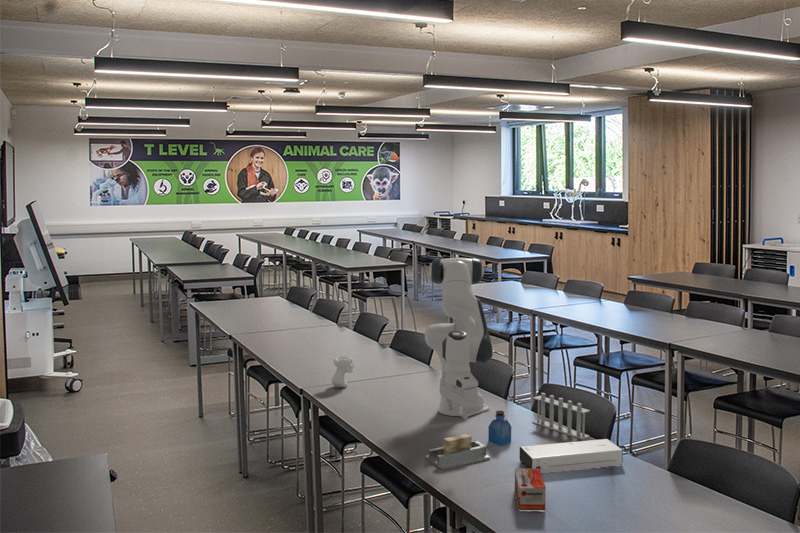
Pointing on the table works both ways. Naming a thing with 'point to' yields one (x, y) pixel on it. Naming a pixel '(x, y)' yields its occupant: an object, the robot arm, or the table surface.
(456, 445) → the tan wooden block
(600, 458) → the laminator
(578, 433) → the test tube rack
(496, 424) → the perfume bottle
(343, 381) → the white lumpy upright piece
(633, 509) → the table surface
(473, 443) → the floor track
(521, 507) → the medicine box
